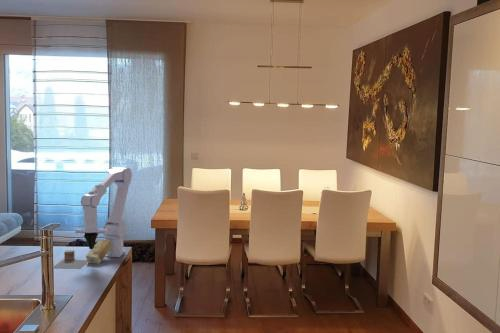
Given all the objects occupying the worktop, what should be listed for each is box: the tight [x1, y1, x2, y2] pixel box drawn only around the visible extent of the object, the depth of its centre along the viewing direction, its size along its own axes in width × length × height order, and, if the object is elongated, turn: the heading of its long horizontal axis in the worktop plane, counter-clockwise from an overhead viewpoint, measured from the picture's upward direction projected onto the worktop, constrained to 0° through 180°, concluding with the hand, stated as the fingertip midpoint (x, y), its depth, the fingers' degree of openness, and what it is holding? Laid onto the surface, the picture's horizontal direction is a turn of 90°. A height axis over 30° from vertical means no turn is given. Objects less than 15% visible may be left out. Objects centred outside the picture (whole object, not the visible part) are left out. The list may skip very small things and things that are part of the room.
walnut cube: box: [63, 249, 75, 261], centre depth 230 cm, size 4×4×4 cm
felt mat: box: [53, 259, 88, 270], centre depth 223 cm, size 12×13×1 cm
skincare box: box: [85, 238, 112, 265], centre depth 228 cm, size 6×4×12 cm
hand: (91, 248), depth 222 cm, fingers closed
